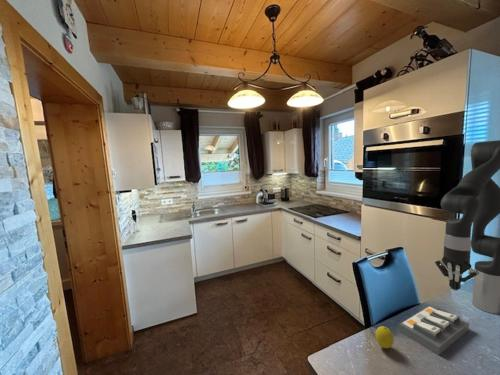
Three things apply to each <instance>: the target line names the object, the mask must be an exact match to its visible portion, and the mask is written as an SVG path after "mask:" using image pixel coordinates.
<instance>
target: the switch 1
mask: <svg viewBox="0 0 500 375" xmlns="http://www.w3.org/2000/svg"><path fill="white" fill-rule="evenodd" d="M417 325H419V326H421V327H423V328H424V329H426V330H428V331H430V332H432V333H434V334H435V335H436V334H437V333H438V332H440V328H438V327H435V326H432V325H429V324H426V323H424V322H420V323H418V324H417Z"/></svg>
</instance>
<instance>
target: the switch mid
mask: <svg viewBox="0 0 500 375" xmlns="http://www.w3.org/2000/svg"><path fill="white" fill-rule="evenodd" d="M427 319H429V320H431V321H433V322H435V323H437V324H439V325H441V326H443V327H446V326H448V325H449V322H448V321H445V320H442V319H439V318H436V317H433V316H429V317H428V318H427Z"/></svg>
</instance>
